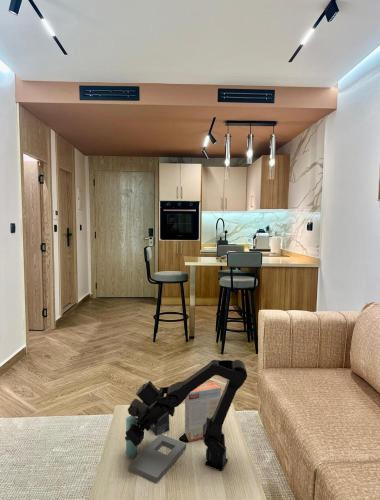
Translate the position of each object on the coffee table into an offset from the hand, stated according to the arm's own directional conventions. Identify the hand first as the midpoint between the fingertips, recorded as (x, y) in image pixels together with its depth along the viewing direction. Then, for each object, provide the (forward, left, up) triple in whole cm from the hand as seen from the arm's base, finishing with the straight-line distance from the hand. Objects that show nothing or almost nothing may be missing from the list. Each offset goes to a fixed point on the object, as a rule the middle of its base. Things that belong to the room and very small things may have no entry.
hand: (128, 435), depth 126 cm
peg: (-1, 0, -7) cm, 7 cm away
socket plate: (-12, -3, -7) cm, 14 cm away
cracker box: (-19, -24, -7) cm, 32 cm away
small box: (+1, -20, -7) cm, 21 cm away
